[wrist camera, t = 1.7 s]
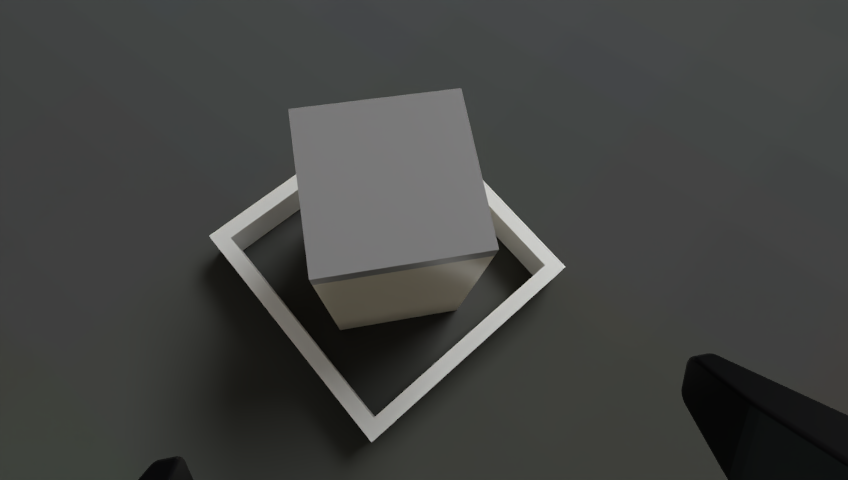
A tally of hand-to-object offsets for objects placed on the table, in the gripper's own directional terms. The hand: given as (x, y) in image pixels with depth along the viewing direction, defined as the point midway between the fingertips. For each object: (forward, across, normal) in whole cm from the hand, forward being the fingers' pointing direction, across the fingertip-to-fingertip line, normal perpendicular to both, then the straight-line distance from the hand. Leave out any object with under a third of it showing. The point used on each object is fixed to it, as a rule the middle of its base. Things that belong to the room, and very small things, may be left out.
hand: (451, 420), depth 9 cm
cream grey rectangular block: (+13, 0, +4) cm, 14 cm away
